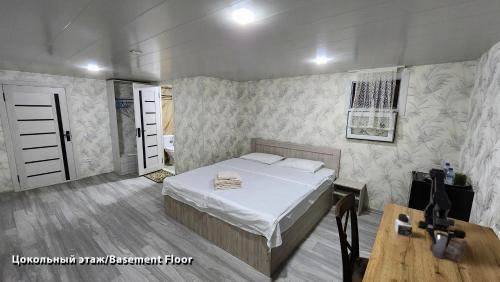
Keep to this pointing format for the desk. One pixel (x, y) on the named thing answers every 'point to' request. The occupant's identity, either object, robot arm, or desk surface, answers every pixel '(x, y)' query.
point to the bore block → (454, 249)
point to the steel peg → (440, 245)
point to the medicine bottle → (403, 225)
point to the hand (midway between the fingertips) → (440, 245)
